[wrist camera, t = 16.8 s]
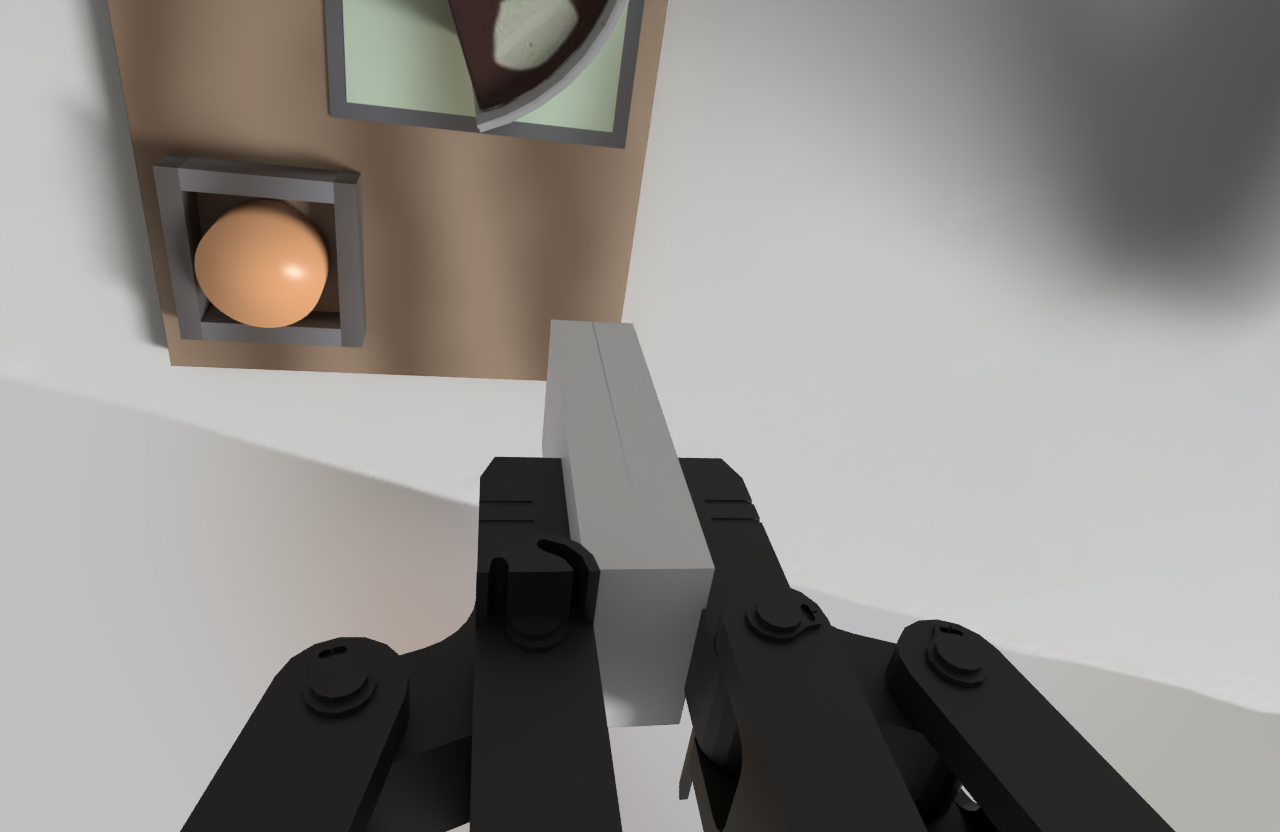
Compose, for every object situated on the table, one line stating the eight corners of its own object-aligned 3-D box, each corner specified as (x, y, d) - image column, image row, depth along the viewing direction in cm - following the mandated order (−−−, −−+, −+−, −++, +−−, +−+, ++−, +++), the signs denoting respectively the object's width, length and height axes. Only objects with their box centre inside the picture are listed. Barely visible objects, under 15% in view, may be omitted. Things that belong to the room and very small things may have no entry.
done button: (327, 205, 31) (319, 222, 29) (333, 309, 33) (325, 330, 31) (202, 194, 30) (186, 211, 28) (217, 303, 32) (203, 324, 30)
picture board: (727, -465, 24) (754, -505, 22) (608, 371, 39) (617, 400, 37) (7, -680, 20) (-55, -759, 18) (179, 352, 35) (158, 384, 32)
